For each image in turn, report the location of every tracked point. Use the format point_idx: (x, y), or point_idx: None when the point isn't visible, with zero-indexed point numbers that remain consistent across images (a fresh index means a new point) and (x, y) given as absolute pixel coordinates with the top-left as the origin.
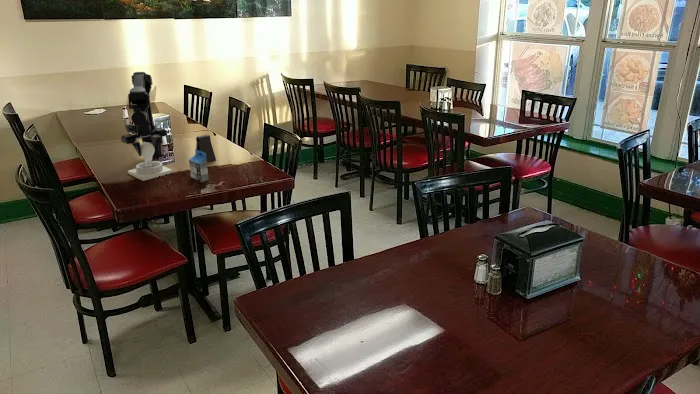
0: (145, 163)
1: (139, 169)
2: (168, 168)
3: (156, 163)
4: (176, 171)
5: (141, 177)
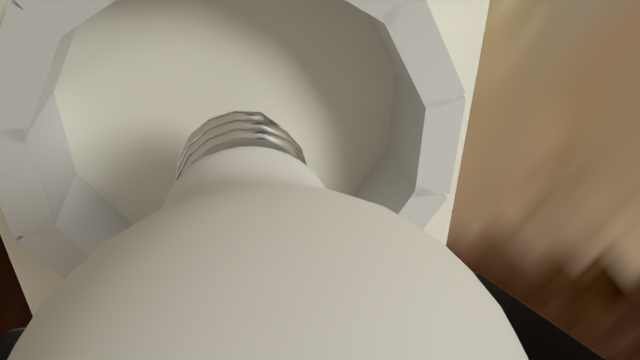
0: (181, 170)
1: (24, 234)
2: (446, 214)
3: (408, 79)
4: (482, 231)
5: (30, 300)
